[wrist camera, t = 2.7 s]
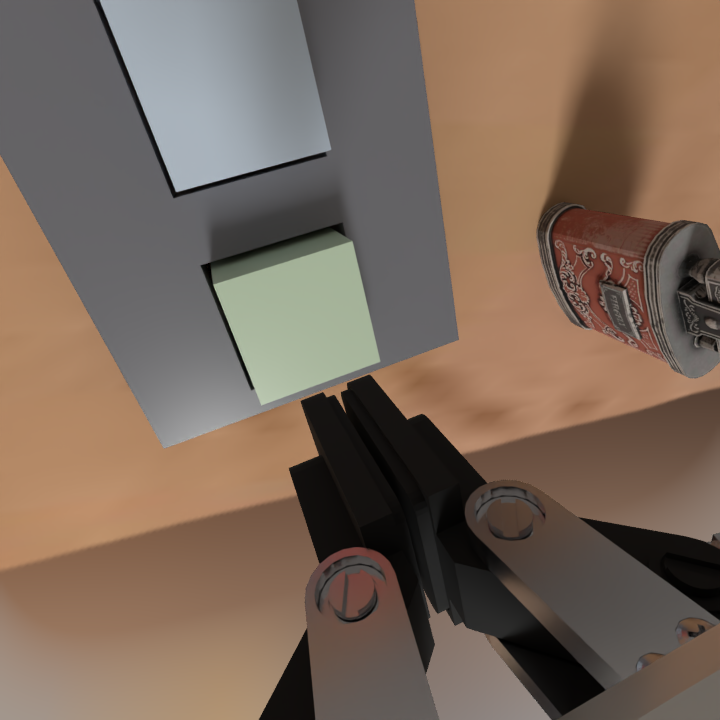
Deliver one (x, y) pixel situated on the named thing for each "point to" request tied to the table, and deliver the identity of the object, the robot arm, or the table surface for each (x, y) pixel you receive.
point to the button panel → (223, 199)
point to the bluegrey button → (221, 83)
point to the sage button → (297, 312)
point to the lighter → (637, 282)
